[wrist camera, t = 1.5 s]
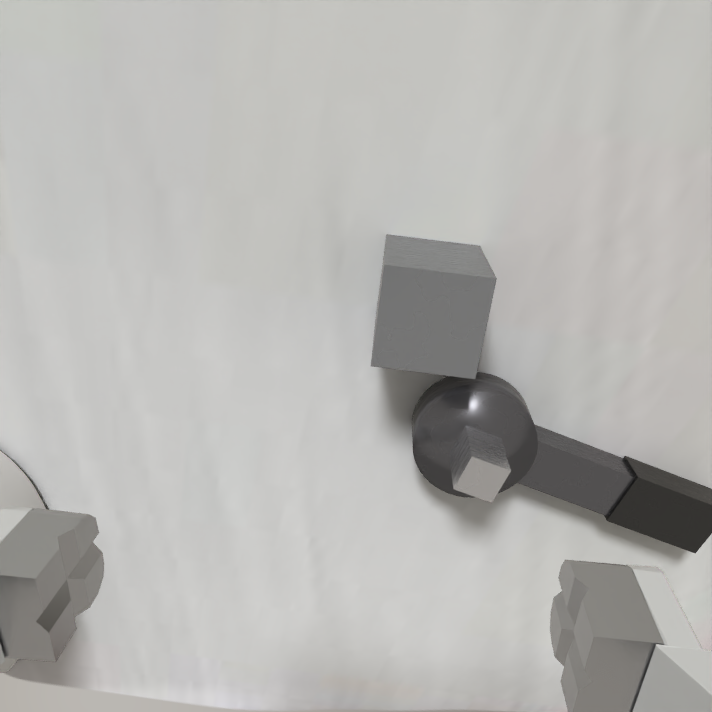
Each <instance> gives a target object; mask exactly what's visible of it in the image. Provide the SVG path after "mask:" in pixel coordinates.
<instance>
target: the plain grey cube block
mask: <svg viewBox="0 0 712 712" xmlns="http://www.w3.org/2000/svg"><path fill="white" fill-rule="evenodd" d="M496 279H497V278H496V276H495V274H494V272H493V271H492V269H491V267H490V265H489V263H488V261H487V259H486V257H485V255H484V253H483V251H482V249H481V247H480V246H475V245H467V244H459V243H451V242H443V241H435V240H426V239H418V238H410V237H402V236H394V235H386V243H385V251H384V258H383V266H382V274H381V281H380V289H379V297H378V305H377V312H376V320H375V330H374V340H373V350H372V360H371V366H374V367H382V368H389V369H397V370H405V371H413V372H421V373H429V374H437V375H445V376H453V377H461V378H469V379H475V378H476V373H477V369H478V364H479V359H480V355H481V350H482V345H483V340H484V336H485V331H486V326H487V321H488V317H489V312H490V307H491V303H492V298H493V293H494V288H495V284H496Z"/></svg>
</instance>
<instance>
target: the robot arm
mask: <svg viewBox="0 0 712 712" xmlns="http://www.w3.org/2000/svg"><path fill="white" fill-rule="evenodd" d="M98 533H99V531H98V526H97V522H96V518H95V517H93V516H91V515H89V514H82V513H73V512H65V511H57V510H48V509H46V508H45V506H44V504H43V502H42V500H41V498H40V496H39V494H38V492H37V491H36V489H35V487H34V486H33V484H32V483H31V481H30V480H29V479H28V477H27V476H26V475H25V474H24V473H23V471H22V470H21V469H20V468H19V467H18V466H17V465H16V464H15V463H14V462H13V461H12V460H11V459H10V458H9V457H7V456H6V455H5V454H4V453H3V452H1V451H0V673H5V672H8V671H9V670H10V669H11V668H12V667H13V665H14V664H15V663H16V662H17V661H18V659H24V660H36V661H49V662H56V661H57V659H58V658H59V656H60V654H61V653H62V651H63V650H64V648H65V646H66V645H67V643H68V642H69V640H70V638H71V637H72V635H73V634H74V632H75V631H76V629H77V628H76V622H75V616H77V615H79V614H80V613H82V612H83V611H85V610H87V609H88V608H90V606H91V605H92V603H93V601H94V600H95V598H96V596H97V595H98V592H99V589H100V586H101V583H102V579H103V574H104V559H103V553H102V552H101V551H100V549H99V548H98V547H97V546H96V545H95V544H94V543H93V541H94V539H95V538H96V536H97V535H98ZM558 578H559V582H560V585H561V589H562V591H561V592H560V593H559V594H558V595H556V596H555V597H554V598H553V603H552V609H551V618H550V633H551V641H552V647H553V651H554V656H555V657H556V659H557V660H558V661H559V662H560V663H561V664H562V665H563V666H564V670H563V674H562V678H561V685H562V689H563V693H564V697H565V701H566V705H567V709H568V712H712V650H704V649H702V647H701V645H700V643H699V641H698V639H697V637H696V635H695V633H694V631H693V629H692V627H691V625H690V623H689V621H688V619H687V617H686V615H685V613H684V611H683V609H682V607H681V605H680V604H679V602H678V600H677V598H676V596H675V594H674V592H673V590H672V588H671V586H670V584H669V582H668V580H667V578H666V576H665V574H664V572H663V571H662V570H661V569H659V568H658V567H651V566H638V565H626V566H625V565H619V564H608V563H597V562H585V561H574V560H565V561H564V562H563V564H562V566H561V569H560V573H559V577H558Z"/></svg>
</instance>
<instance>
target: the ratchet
mask: <svg viewBox="0 0 712 712" xmlns="http://www.w3.org/2000/svg"><path fill="white" fill-rule="evenodd" d="M412 437H413V454H414V458H415V461H416V464H417V466H418V468H419V470H420V472H421V473H422V474H423V476H424V477H425V478H426V479H427V480H428V481H429V482H430V483H431V484H433V485H434V486H435V487H437V488H439V489H441V490H442V491H445V492H447V493H449V494H453V495H456V496H462V497H477V498H479V499H482V500H485V501H487V502H490V503H492V502H493V500H494V498H495V497H496V495H497V493H500V492H502V491H504V490H506V489H508V488H510V487H512V486H513V485H515V484H516V483H520V484H523V485H525V486H528V487H531V488H533V489H536V490H539V491H541V492H544V493H547V494H550V495H552V496H555V497H558V498H560V499H563V500H566V501H568V502H571V503H574V504H577V505H579V506H582V507H585V508H587V509H590V510H593V511H595V512H598V513H601V514H604V516H605V518H606V520H607V521H609V522H612V523H615V524H617V525H620V526H623V527H625V528H628V529H631V530H634V531H636V532H639V533H642V534H644V535H647V536H650V537H653V538H655V539H658V540H661V541H663V542H666V543H669V544H671V545H674V546H677V547H680V548H682V549H685V550H688V551H690V552H693V553H696V552H697V551H698V549H699V548H700V547H701V546H702V544H703V543H704V542H705V541H706V540H707V538H708V537H709V536H710V535H711V533H712V489H710V488H708V487H705V486H702V485H700V484H697V483H695V482H692V481H689V480H687V479H684V478H681V477H679V476H676V475H674V474H671V473H668V472H666V471H663V470H661V469H658V468H655V467H653V466H650V465H647V464H645V463H642V462H640V461H637V460H634V459H632V458H629V457H626V456H625V457H624V458H621V457H618V456H615V455H613V454H610V453H608V452H605V451H602V450H600V449H597V448H594V447H592V446H589V445H587V444H584V443H581V442H579V441H576V440H573V439H571V438H568V437H566V436H563V435H560V434H558V433H555V432H552V431H550V430H547V429H545V428H542V427H539V426H537V425H534V423H533V420H532V418H531V415H530V413H529V410H528V408H527V405H526V403H525V401H524V399H523V398H522V396H521V395H520V393H519V392H518V391H517V390H516V389H515V388H514V387H513V386H512V385H511V384H509V383H508V382H506V381H505V380H503V379H501V378H499V377H497V376H493V375H490V374H486V373H479V372H477V373H476V378H475V379H469V378H461V377H453V376H449V377H447V378H444V379H442V380H440V381H439V382H437V383H435V384H434V385H433V386H431V387H430V388H429V389H428V390H427V391H426V392H425V393H424V394H423V395H422V397H421V398H420V400H419V401H418V403H417V405H416V407H415V410H414V413H413V418H412Z"/></svg>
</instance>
